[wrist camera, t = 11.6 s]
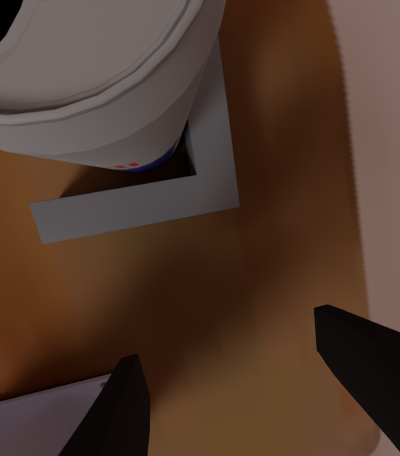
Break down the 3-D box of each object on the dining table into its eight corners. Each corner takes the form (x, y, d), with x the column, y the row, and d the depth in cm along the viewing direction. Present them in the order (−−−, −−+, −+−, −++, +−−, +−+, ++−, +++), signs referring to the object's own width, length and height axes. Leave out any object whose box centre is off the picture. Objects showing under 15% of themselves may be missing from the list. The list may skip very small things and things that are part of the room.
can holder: (68, 230, 14) (42, 244, 11) (3, 21, 12) (-51, -32, 9) (225, 201, 15) (240, 207, 12) (198, 2, 13) (207, -50, 10)
